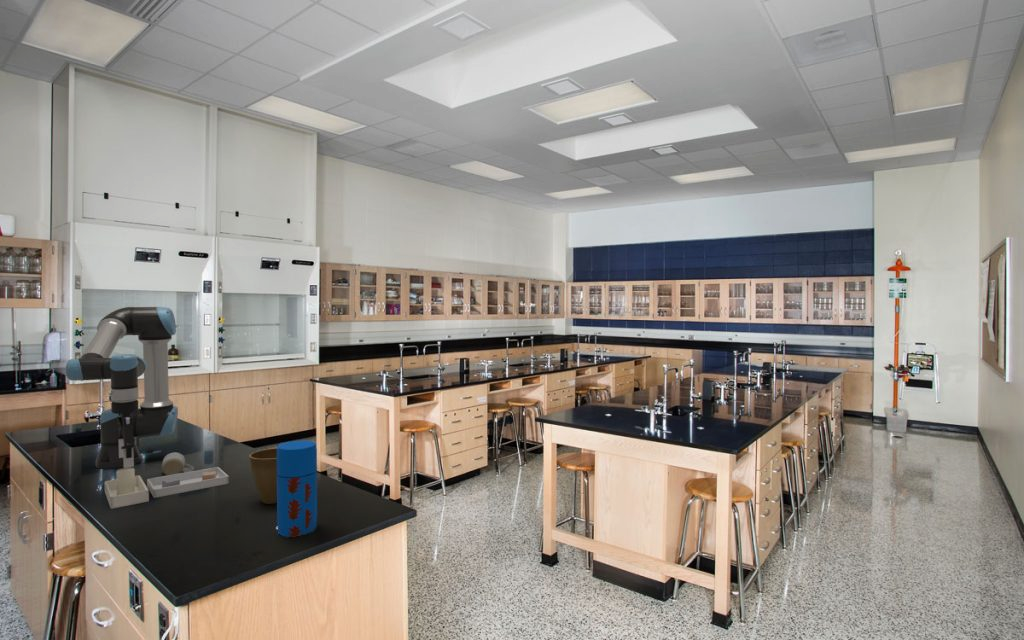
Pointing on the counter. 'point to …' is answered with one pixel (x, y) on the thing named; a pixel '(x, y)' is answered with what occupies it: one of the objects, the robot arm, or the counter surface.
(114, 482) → the bin
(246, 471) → the counter surface
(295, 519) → the thermos
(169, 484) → the gray cube
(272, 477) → the plant pot
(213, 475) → the orange cube
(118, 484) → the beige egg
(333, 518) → the counter surface
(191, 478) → the tray
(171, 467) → the ceramic mug
